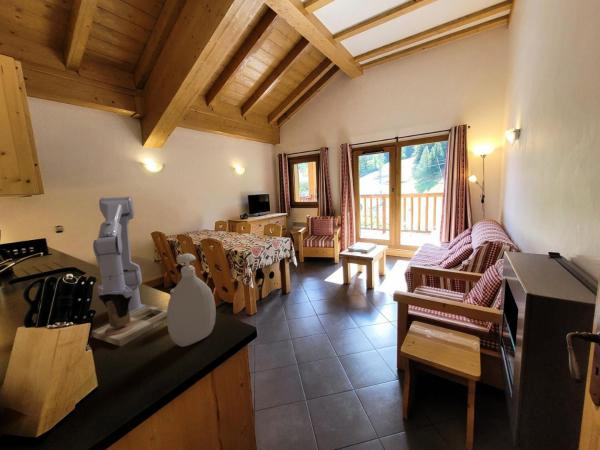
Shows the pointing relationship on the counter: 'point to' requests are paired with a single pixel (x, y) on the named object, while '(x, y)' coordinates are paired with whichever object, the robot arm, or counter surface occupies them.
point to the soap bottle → (190, 307)
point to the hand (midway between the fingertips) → (118, 315)
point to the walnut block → (116, 316)
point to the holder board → (132, 326)
